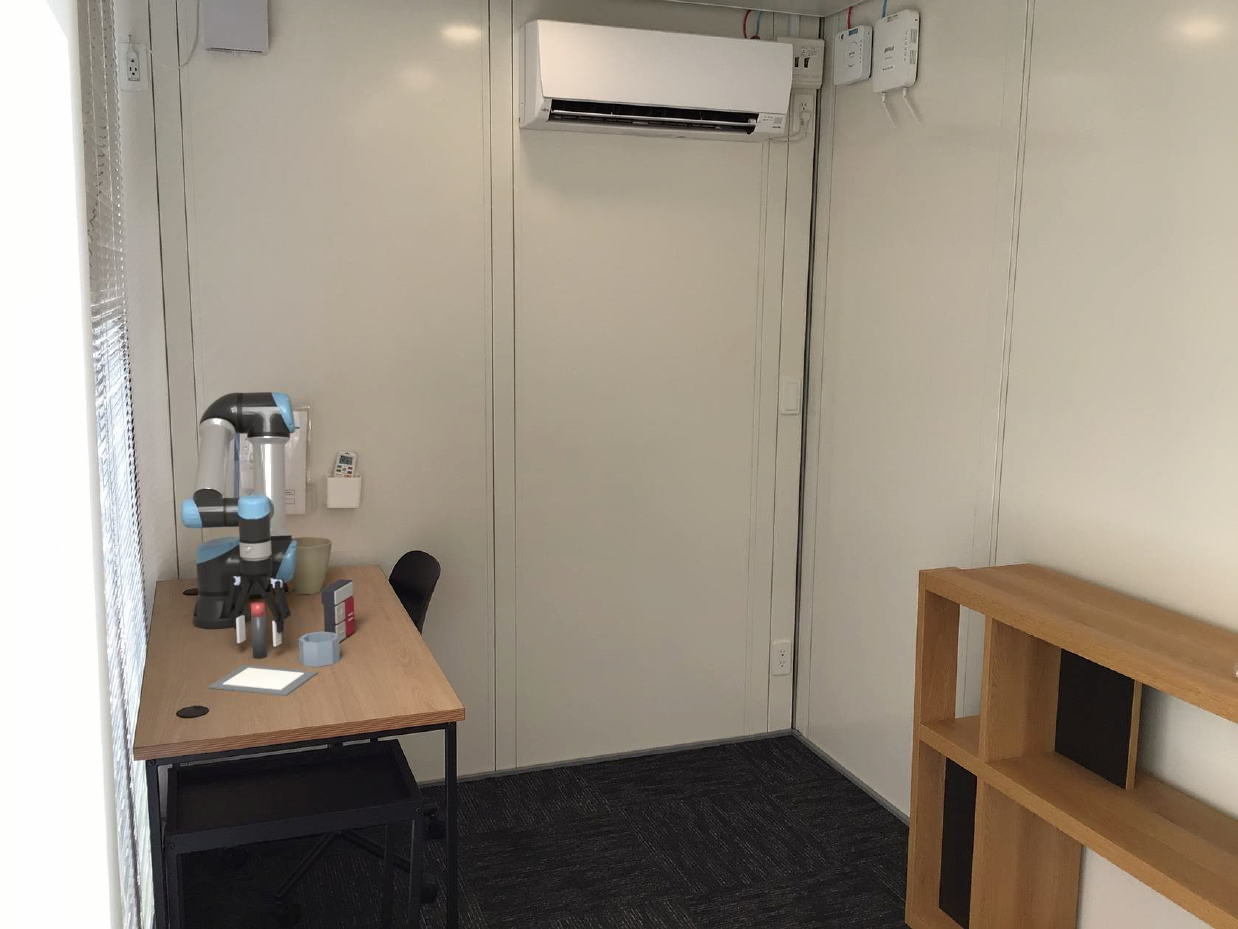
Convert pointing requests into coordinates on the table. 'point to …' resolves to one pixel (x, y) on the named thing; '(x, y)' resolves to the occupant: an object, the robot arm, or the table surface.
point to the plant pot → (311, 564)
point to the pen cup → (319, 649)
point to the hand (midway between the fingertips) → (259, 643)
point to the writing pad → (264, 680)
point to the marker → (258, 630)
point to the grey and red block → (339, 608)
